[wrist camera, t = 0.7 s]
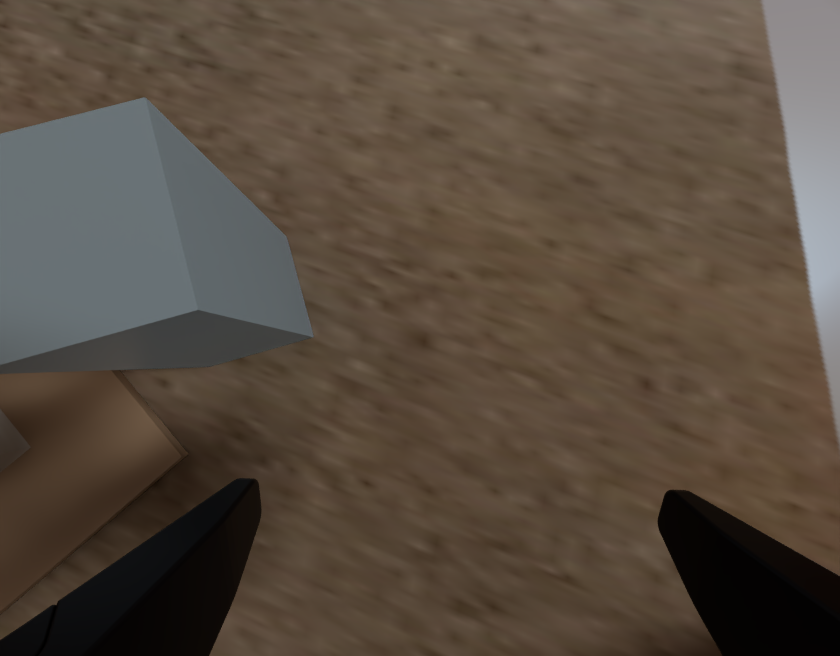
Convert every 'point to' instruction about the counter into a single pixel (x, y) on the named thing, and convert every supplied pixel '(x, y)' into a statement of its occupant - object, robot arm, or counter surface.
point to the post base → (70, 465)
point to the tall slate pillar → (133, 251)
